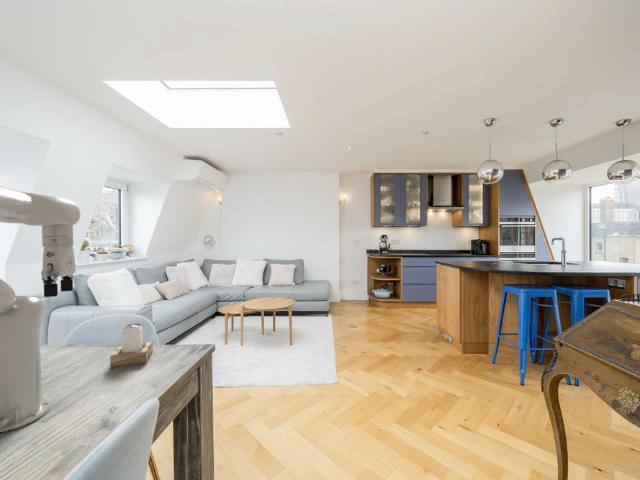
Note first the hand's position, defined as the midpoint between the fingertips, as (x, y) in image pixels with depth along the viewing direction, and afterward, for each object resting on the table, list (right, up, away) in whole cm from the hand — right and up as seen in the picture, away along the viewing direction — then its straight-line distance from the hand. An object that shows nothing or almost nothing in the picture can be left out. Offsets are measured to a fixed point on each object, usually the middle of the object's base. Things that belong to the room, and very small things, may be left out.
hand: (59, 293), depth 93 cm
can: (+15, -27, +14) cm, 34 cm away
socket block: (+15, -28, +13) cm, 35 cm away
